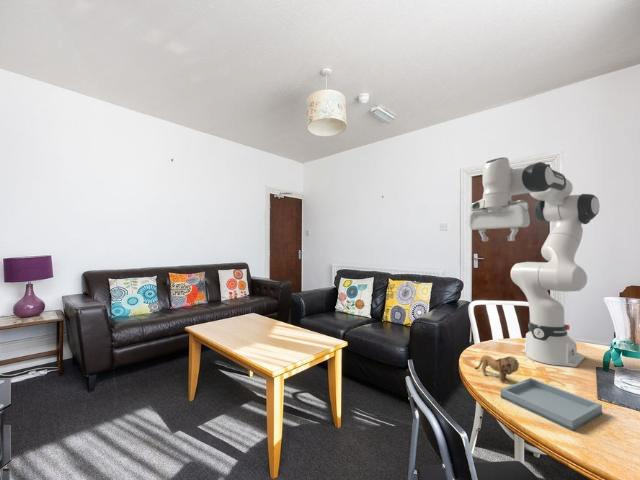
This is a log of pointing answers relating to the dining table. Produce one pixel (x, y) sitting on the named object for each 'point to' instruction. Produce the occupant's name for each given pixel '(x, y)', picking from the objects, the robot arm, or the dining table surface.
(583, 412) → the grey tray
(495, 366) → the lion figurine
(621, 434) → the dining table surface
